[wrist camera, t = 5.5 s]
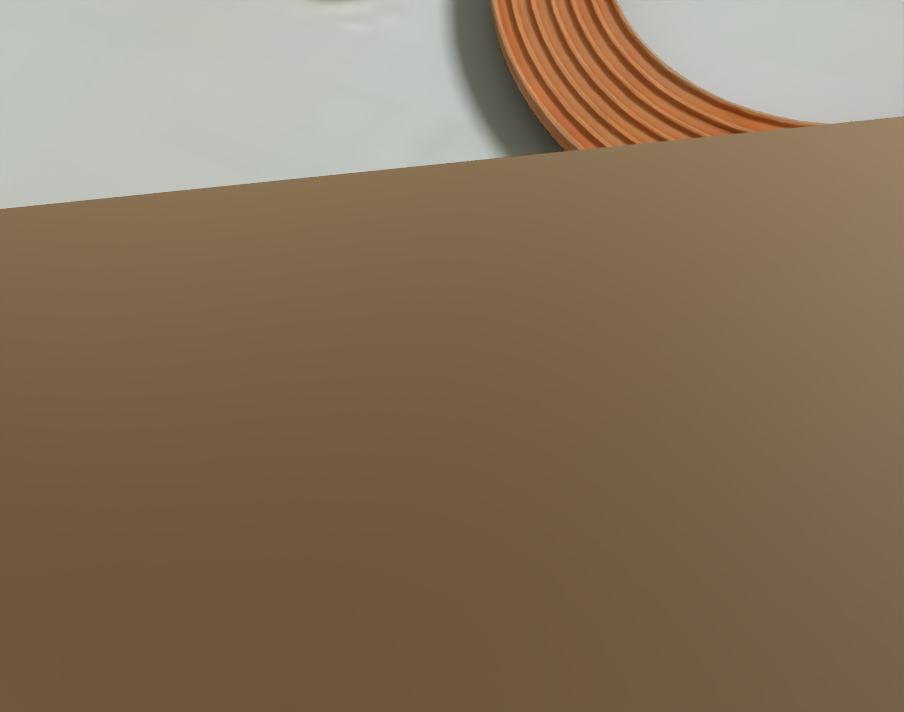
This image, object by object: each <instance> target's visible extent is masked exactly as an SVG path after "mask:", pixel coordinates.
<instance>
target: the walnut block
mask: <svg viewBox="0 0 904 712" xmlns="http://www.w3.org/2000/svg"><path fill="white" fill-rule="evenodd" d="M0 712H904V117H895V118H885V119H875V120H866V121H856V122H846V123H836V124H827V125H817V126H807V127H797V128H788V129H778V130H768V131H758V132H749V133H739V134H729V135H719V136H709V137H700V138H690V139H680V140H670V141H661V142H651V143H641V144H631V145H622V146H612V147H602V148H592V149H583V150H573V151H563V152H553V153H544V154H534V155H524V156H514V157H505V158H495V159H485V160H475V161H466V162H456V163H446V164H436V165H427V166H417V167H407V168H397V169H387V170H378V171H368V172H358V173H348V174H339V175H329V176H319V177H309V178H300V179H290V180H280V181H270V182H261V183H251V184H241V185H231V186H222V187H212V188H202V189H192V190H183V191H173V192H163V193H153V194H144V195H134V196H124V197H114V198H105V199H95V200H85V201H75V202H65V203H56V204H46V205H36V206H26V207H17V208H7V209H0Z"/></svg>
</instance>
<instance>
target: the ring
mask: <svg viewBox="0 0 904 712" xmlns="http://www.w3.org/2000/svg"><path fill="white" fill-rule="evenodd" d="M490 4H491V11H492V16H493V21H494V26H495V31H496V34H497V38H498V41H499V45H500V49H501V51H502V54H503V56H504V58H505V61H506V63H507V66H508V68H509V70H510V73H511V75H512V77H513V79H514V81H515V83H516V85H517V86H518V88H519V90H520V92H521V94H522V96H523V97H524V99H525V100H526V102H527V103H528V105H529V107H530V108H531V110H532V111H533V112H534V114H535V115H536V117H537V118H538V119H539V121H540V122H541V124H542V125H543V126H544V127H545V128H546V130H547V131H548V132H549V133H550V134H551V136H552V137H553V138H554V139H555V140H556V141H557V143H558V144H559V145H560V146H561V147H562V148H563V149H564V150H565V151H573V150H583V149H592V148H602V147H612V146H622V145H631V144H641V143H651V142H661V141H670V140H680V139H690V138H700V137H709V136H719V135H729V134H739V133H749V132H758V131H768V130H778V129H788V128H797V127H807V126H817V125H827V124H824V123H814V122H804V121H798V120H793V119H788V118H783V117H778V116H774V115H770V114H766V113H762V112H758V111H755V110H752V109H749V108H746V107H743V106H740V105H737V104H734V103H732V102H729V101H727V100H724V99H722V98H720V97H718V96H716V95H714V94H712V93H710V92H708V91H706V90H704V89H702V88H700V87H698V86H696V85H695V84H693V83H692V82H690V81H689V80H687V79H686V78H685V77H683V76H682V75H680V74H679V73H677V72H676V71H674V70H673V69H672V68H671V67H669V66H668V65H667V64H665V63H664V62H663V61H662V60H661V59H660V58H659V57H658V56H657V55H656V54H655V53H654V52H653V51H652V50H651V49H650V48H649V47H648V46H647V45H646V44H645V43H644V42H643V41H642V40H641V38H640V37H639V36H638V34H637V33H636V32H635V30H634V29H633V28H632V26H631V25H630V23H629V21H628V20H627V18H626V16H625V15H624V13H623V12H622V10H621V8H620V6H619V4H618V1H617V0H490Z"/></svg>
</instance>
